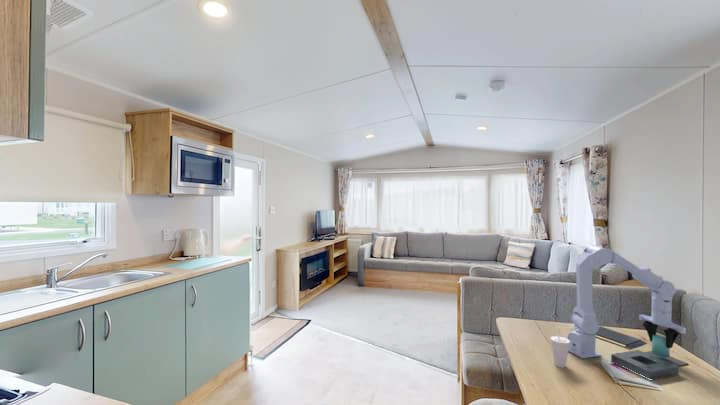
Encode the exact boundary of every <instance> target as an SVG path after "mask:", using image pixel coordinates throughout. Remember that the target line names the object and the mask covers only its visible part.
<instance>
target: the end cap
mask: <svg viewBox="0 0 720 405" xmlns="http://www.w3.org/2000/svg"><path fill="white" fill-rule="evenodd" d="M670 349H671V348H667V347H666V336H665V334H664V335H663V334H660V333H658V334H657V333H656V334H652V342H651V351H652V353H653V354H655V355H657V356H660V357H670V356H671V354H670V352H671V350H670Z"/></svg>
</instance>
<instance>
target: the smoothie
mask: <svg viewBox="0 0 720 405" xmlns="http://www.w3.org/2000/svg"><path fill="white" fill-rule="evenodd" d="M550 342H551V347H552V348H551V350H552V356H553V364H554V365H555V366H556V367H558V368H566V367H567V362H568V356H569V355H568V354H569V351H568V349H569V345H570V341H569V340H568V338H566V337H564V336H560V327H559V326H558V327H557V335H553V336H550Z"/></svg>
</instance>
